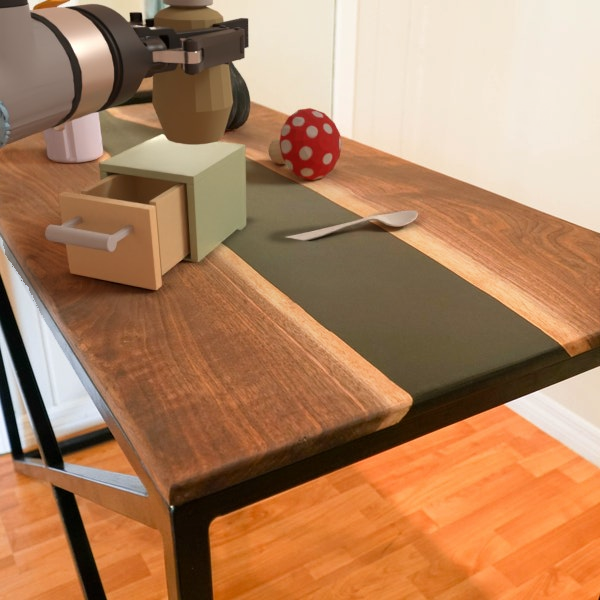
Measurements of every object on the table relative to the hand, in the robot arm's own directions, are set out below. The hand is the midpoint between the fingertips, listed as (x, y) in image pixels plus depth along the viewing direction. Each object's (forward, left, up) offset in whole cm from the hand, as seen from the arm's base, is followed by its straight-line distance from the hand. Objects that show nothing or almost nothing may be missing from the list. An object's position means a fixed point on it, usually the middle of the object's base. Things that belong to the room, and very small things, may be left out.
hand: (213, 30), depth 67 cm
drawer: (-6, -10, -24) cm, 26 cm away
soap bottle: (-39, +26, -25) cm, 53 cm away
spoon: (+13, +12, -25) cm, 30 cm away
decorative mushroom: (-1, +34, -25) cm, 42 cm away
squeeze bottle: (0, -5, -10) cm, 11 cm away
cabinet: (-6, +2, -25) cm, 26 cm away
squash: (-26, +52, -25) cm, 63 cm away
